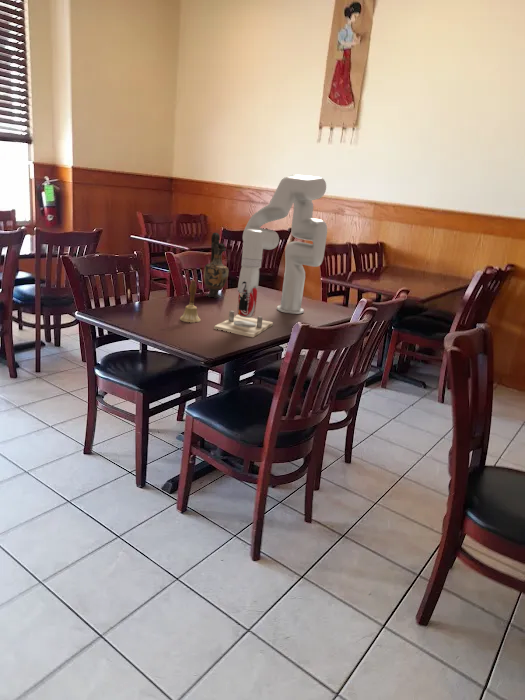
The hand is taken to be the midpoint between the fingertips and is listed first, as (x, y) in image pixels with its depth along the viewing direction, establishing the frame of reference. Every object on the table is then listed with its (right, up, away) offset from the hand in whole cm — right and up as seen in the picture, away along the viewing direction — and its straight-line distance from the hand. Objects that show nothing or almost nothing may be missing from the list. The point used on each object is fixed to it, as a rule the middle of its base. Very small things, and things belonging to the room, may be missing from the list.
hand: (246, 308), depth 195 cm
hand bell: (-23, -5, +3) cm, 23 cm away
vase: (-18, +10, +49) cm, 52 cm away
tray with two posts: (-1, -7, +2) cm, 8 cm away
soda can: (0, -3, +1) cm, 3 cm away
